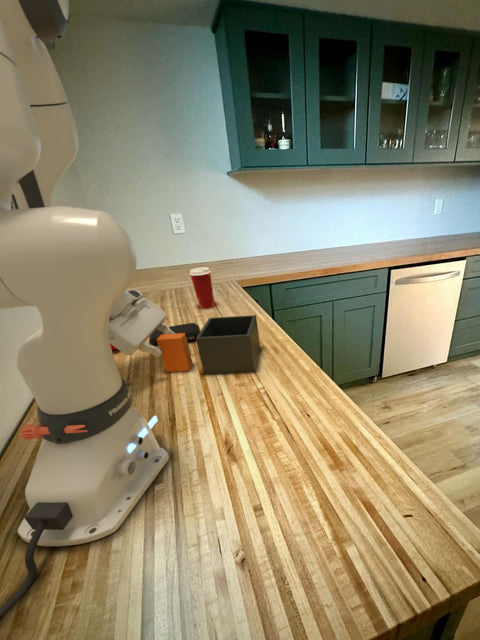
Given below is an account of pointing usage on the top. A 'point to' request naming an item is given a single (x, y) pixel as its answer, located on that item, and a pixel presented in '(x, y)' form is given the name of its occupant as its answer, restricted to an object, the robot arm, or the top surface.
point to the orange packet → (175, 352)
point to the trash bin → (229, 344)
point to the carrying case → (189, 330)
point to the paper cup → (203, 286)
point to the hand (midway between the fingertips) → (167, 345)
